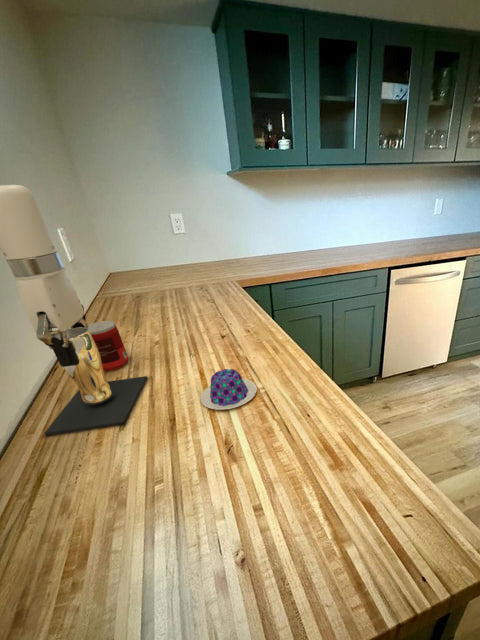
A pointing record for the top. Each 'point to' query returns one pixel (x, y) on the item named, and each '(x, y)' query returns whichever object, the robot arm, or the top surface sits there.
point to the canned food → (109, 344)
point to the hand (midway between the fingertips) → (79, 355)
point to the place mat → (99, 409)
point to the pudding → (228, 390)
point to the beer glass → (87, 367)
